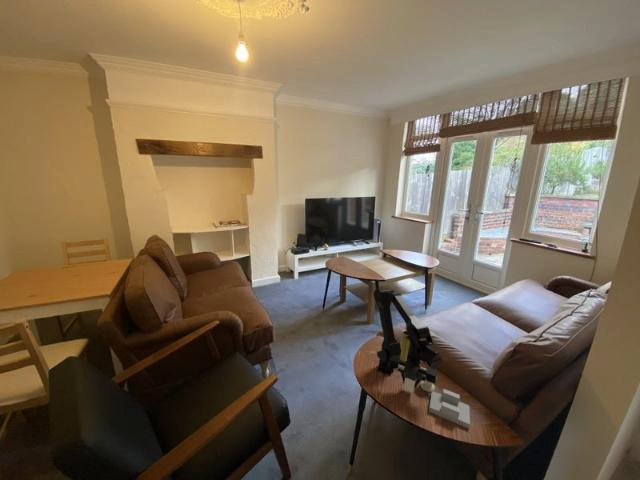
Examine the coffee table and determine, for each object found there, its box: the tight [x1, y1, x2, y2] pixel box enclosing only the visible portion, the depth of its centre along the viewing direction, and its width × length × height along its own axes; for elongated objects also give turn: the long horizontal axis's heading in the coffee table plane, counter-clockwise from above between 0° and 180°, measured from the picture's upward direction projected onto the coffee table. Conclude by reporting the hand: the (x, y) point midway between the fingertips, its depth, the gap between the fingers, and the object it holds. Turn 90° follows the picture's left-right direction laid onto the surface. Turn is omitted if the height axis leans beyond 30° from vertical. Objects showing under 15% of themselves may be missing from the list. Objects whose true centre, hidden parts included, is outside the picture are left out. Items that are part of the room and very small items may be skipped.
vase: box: [400, 329, 410, 362], centre depth 134 cm, size 6×6×14 cm
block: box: [402, 378, 416, 393], centre depth 111 cm, size 4×4×6 cm
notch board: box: [428, 388, 471, 430], centre depth 104 cm, size 14×10×5 cm
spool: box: [419, 377, 438, 393], centre depth 116 cm, size 6×6×6 cm
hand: (409, 385), depth 112 cm, fingers closed on block, 4 cm apart
